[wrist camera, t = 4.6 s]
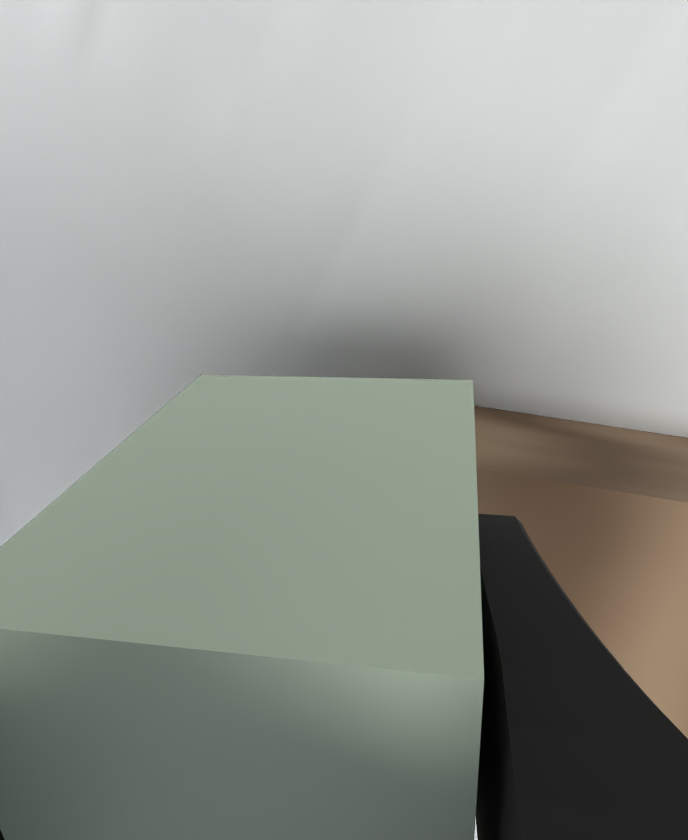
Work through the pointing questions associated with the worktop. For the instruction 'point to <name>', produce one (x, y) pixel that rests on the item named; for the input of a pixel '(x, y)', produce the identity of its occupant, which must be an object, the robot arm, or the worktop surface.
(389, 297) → the worktop surface
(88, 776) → the green block
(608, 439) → the walnut base
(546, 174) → the worktop surface
